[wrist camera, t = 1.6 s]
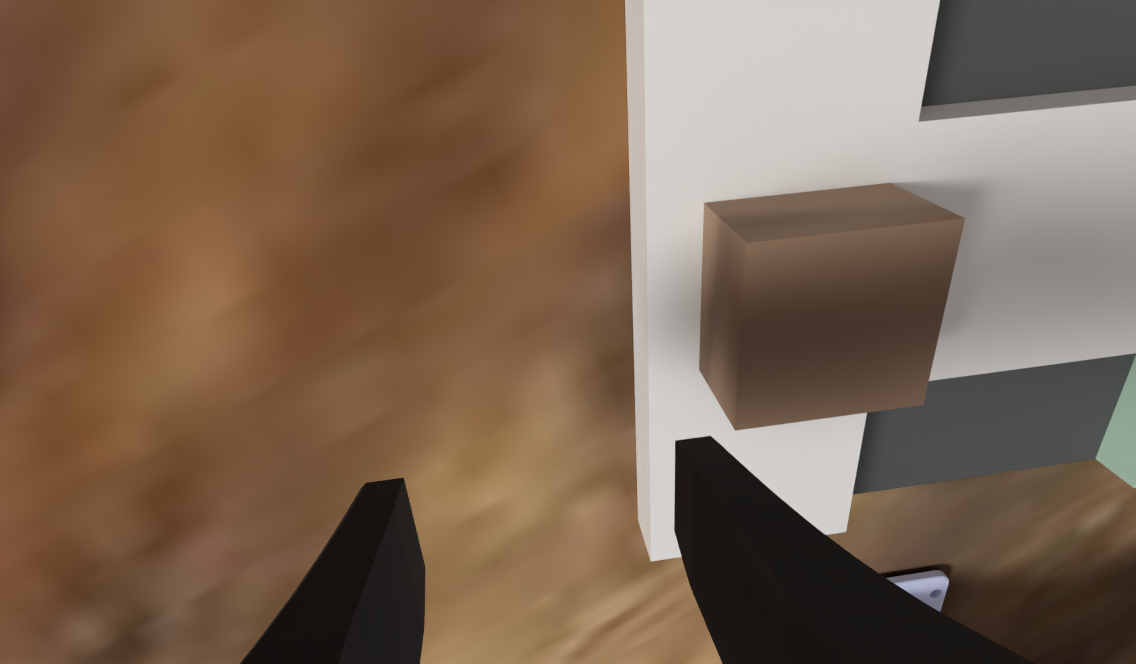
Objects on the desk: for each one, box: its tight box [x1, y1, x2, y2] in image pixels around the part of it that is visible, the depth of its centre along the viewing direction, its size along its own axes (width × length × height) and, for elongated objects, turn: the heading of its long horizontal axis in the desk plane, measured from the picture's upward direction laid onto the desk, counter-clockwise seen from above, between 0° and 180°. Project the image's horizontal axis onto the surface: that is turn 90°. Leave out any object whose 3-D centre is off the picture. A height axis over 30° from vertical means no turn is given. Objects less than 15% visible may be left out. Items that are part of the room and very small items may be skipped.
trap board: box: [625, 0, 1136, 561], centre depth 20 cm, size 20×26×2 cm
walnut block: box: [699, 183, 965, 431], centre depth 17 cm, size 5×5×3 cm
